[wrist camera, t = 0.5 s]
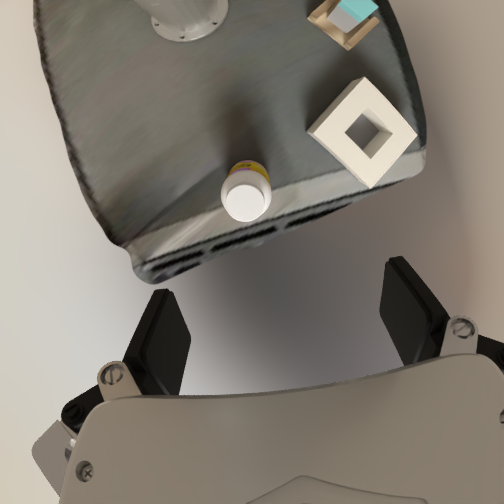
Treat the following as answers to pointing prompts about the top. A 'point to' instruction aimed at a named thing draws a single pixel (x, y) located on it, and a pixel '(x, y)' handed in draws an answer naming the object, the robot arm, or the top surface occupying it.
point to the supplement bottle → (246, 191)
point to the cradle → (333, 31)
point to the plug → (351, 13)
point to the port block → (362, 131)
